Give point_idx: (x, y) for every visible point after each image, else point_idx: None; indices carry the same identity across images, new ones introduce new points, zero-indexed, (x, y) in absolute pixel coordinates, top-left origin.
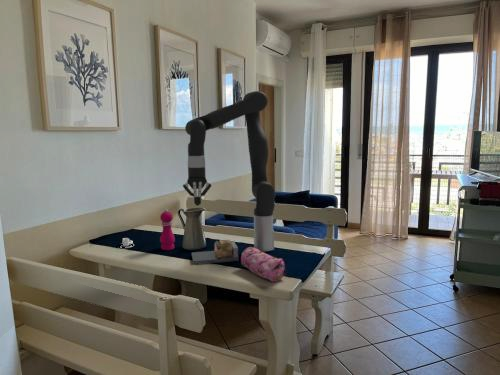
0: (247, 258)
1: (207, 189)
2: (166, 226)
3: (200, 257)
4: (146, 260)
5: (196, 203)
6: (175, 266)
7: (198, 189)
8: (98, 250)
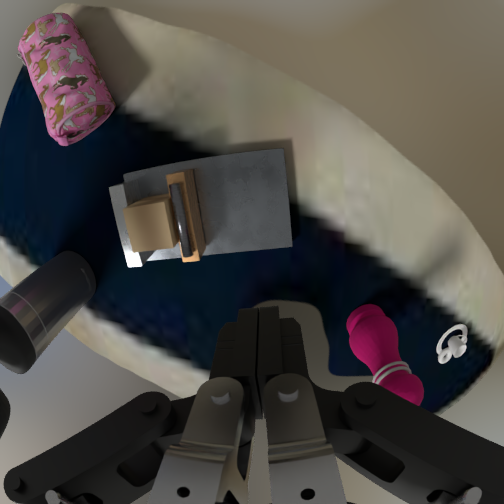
0: (86, 73)
1: (67, 452)
2: (393, 360)
3: (257, 185)
4: (427, 217)
5: (274, 316)
6: (343, 140)
7: (223, 494)
8: (497, 307)
